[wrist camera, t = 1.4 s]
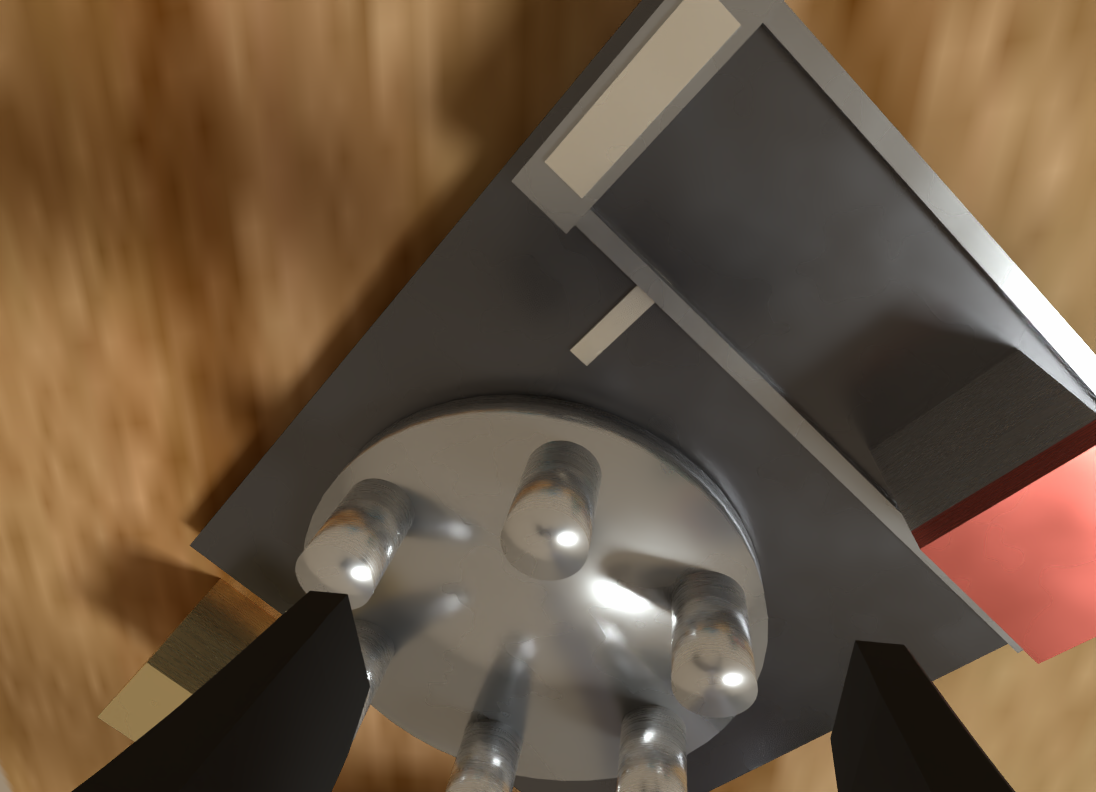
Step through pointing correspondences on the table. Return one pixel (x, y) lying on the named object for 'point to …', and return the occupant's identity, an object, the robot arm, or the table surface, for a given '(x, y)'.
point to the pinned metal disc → (543, 592)
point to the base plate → (707, 338)
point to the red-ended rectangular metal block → (1007, 501)
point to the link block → (187, 659)
